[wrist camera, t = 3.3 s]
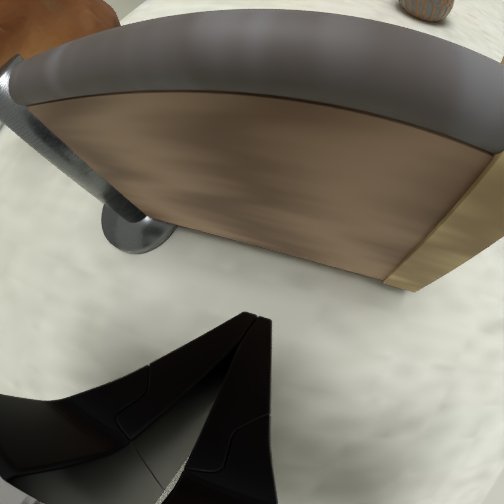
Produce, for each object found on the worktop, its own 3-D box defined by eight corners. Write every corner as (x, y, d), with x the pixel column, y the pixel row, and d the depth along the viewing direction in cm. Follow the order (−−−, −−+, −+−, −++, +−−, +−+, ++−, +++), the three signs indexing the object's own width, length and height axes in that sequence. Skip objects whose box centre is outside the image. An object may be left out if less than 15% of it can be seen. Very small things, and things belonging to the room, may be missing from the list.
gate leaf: (147, 219, 17) (-1, 87, 6) (159, 193, 18) (30, 49, 6) (414, 292, 13) (595, 157, 2) (420, 258, 14) (568, 90, 2)
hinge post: (96, 241, 20) (-57, 143, 7) (130, 167, 21) (15, 42, 8) (162, 264, 18) (-26, 139, 5) (197, 179, 19) (83, 6, 7)
